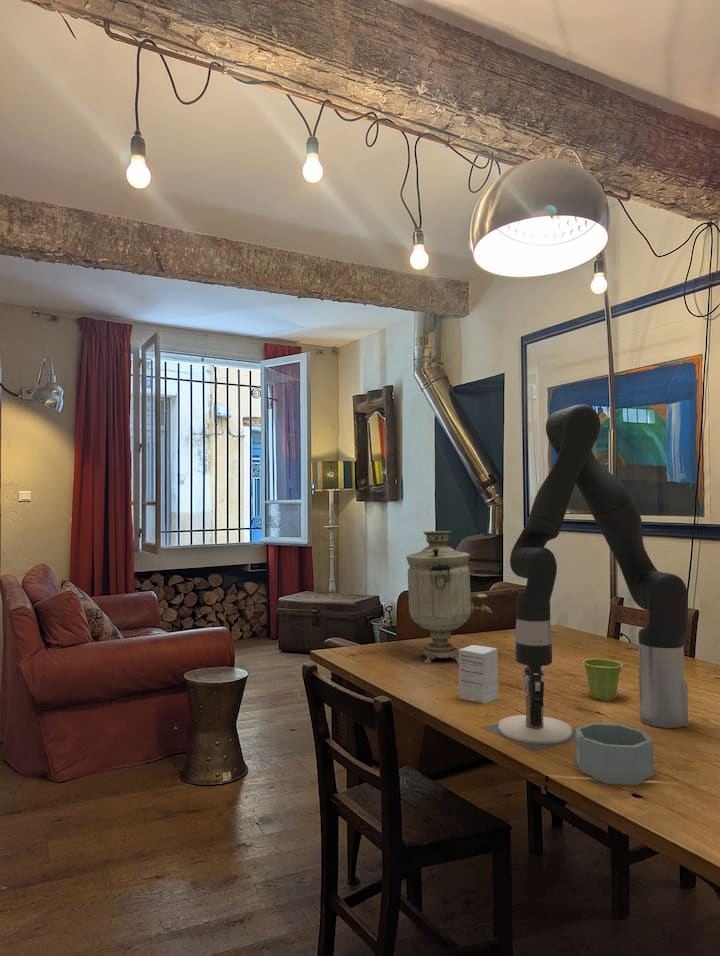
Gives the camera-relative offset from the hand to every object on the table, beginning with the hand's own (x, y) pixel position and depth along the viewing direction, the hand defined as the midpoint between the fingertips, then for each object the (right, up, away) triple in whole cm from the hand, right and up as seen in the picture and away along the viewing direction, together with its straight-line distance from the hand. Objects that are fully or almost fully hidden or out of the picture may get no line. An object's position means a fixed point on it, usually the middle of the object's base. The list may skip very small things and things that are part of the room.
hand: (534, 721), depth 143 cm
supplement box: (-7, -4, +25) cm, 27 cm away
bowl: (+9, -2, -20) cm, 22 cm away
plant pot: (+24, -4, +27) cm, 36 cm away
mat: (0, -3, 0) cm, 3 cm away
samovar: (-9, -5, +68) cm, 69 cm away
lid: (0, -2, 0) cm, 2 cm away
